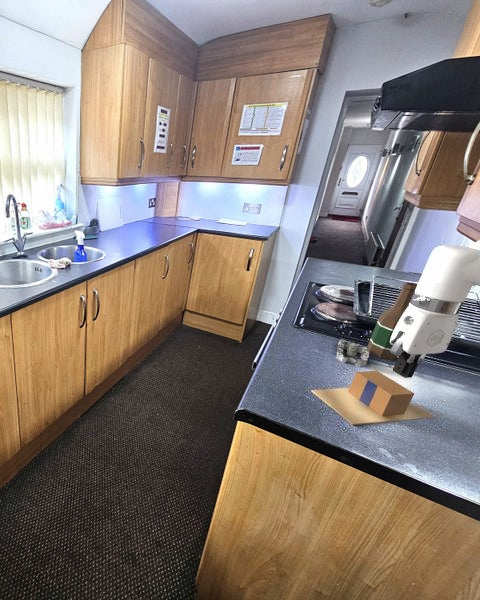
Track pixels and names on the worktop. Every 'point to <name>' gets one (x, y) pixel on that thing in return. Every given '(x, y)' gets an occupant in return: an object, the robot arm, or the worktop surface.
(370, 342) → the beer bottle
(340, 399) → the board
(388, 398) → the box
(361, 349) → the egg carton
